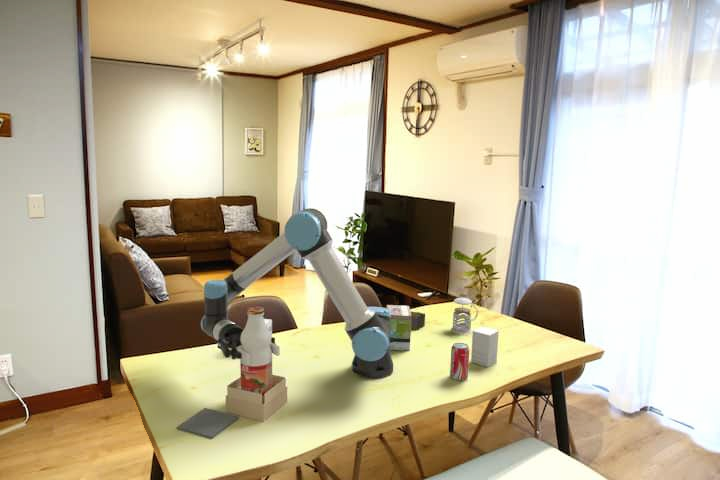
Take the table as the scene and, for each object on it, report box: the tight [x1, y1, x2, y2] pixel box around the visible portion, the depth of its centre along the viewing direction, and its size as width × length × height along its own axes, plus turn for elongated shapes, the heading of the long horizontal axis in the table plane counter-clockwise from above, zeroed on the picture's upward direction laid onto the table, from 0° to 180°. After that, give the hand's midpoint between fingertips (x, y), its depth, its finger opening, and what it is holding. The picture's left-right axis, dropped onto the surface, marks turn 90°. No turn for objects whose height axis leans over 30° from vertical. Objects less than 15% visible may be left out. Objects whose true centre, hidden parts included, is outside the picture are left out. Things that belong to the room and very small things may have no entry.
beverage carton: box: [410, 310, 426, 331], centre depth 234 cm, size 8×19×7 cm, turn 60°
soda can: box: [449, 342, 471, 381], centre depth 177 cm, size 6×6×12 cm
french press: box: [450, 276, 479, 335], centre depth 226 cm, size 10×12×25 cm
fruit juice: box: [239, 306, 273, 404], centre depth 150 cm, size 9×9×28 cm
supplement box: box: [470, 326, 499, 368], centre depth 191 cm, size 7×7×13 cm
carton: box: [225, 374, 288, 422], centre depth 152 cm, size 13×13×8 cm
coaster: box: [176, 407, 240, 439], centre depth 143 cm, size 12×12×1 cm
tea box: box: [385, 304, 412, 351], centre depth 208 cm, size 15×10×15 cm, turn 179°
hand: (263, 355), depth 147 cm, fingers closed on fruit juice, 9 cm apart
